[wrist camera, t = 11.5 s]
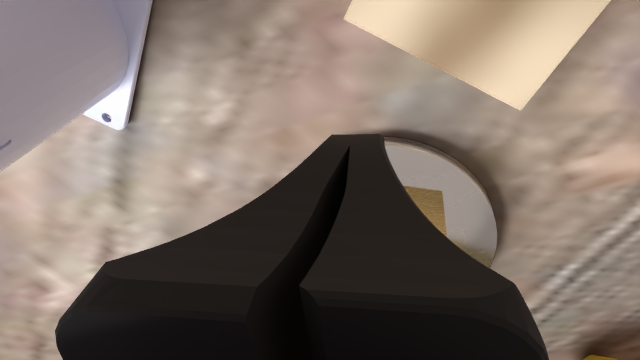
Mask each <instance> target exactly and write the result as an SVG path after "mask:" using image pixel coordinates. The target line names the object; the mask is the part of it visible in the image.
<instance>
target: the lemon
mask: <svg viewBox="0 0 640 360" xmlns="http://www.w3.org/2000/svg"><path fill="white" fill-rule="evenodd" d="M583 360H619V359H615V358H611V357H602V356H597V355H589V356H587V357H586V358H585V359H583Z"/></svg>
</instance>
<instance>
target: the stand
mask: <svg viewBox="0 0 640 360" xmlns="http://www.w3.org/2000/svg"><path fill="white" fill-rule="evenodd" d="M610 1H611V0H352V2H351V4H350V6H349V8H348V10H347V13H346V15H345V17H344V20H346V21H348V22H350V23H352V24H354V25H356V26H358V27H360V28H362V29H364V30H365V31H367V32H369V33H371V34H373V35H375V36H377V37H379V38H381V39H383V40H385V41H387V42H389V43H391V44H393V45H394V46H396V47H398V48H400V49H402V50H404V51H406V52H408V53H410V54H412V55H414V56H416V57H418V58H420V59H422V60H423V61H425V62H427V63H429V64H431V65H433V66H435V67H437V68H439V69H441V70H443V71H445V72H447V73H449V74H451V75H452V76H454V77H456V78H458V79H460V80H462V81H464V82H466V83H468V84H470V85H472V86H474V87H476V88H478V89H479V90H481V91H483V92H485V93H487V94H489V95H491V96H493V97H495V98H497V99H499V100H501V101H503V102H505V103H507V104H508V105H510V106H512V107H514V108H516V109H518V110H520V111H521V109H522V108H523V107H524V106H525V105H526V103H527V102H528V101H529V100H530V98H531V97H532V96H533V95H534V94H535V92H536V91H537V90H538V89H539V87H540V86H541V85H542V84H543V83H544V81H545V80H546V79H547V78H548V76H549V75H550V74H551V73H552V72H553V70H554V69H555V68H556V67H557V65H558V64H559V63H560V62H561V61H562V59H563V58H564V57H565V56H566V54H567V53H568V52H569V51H570V50H571V48H572V47H573V46H574V45H575V43H576V42H577V41H578V40H579V39H580V37H581V36H582V35H583V34H584V32H585V31H586V30H587V29H588V28H589V26H590V25H591V24H592V23H593V21H594V20H595V19H596V18H597V17H598V15H599V14H600V13H601V12H602V10H603V9H604V8H605V7H606V6H607V4H608V3H609V2H610Z"/></svg>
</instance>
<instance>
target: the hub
mask: <svg viewBox="0 0 640 360" xmlns="http://www.w3.org/2000/svg"><path fill="white" fill-rule="evenodd" d="M383 138H384V139H385V149H386V152H387V155H388V158H389V160H390V162H391V165H392V167H393V169H394V171H395V173H396V174H397V176H398V178H399V180H400V182H401V183H402V185H403V186H410V187H417V188H424V189H432V190H439V191H442V193H443V203H444V213H445V223H446V233H447V238H448V239H450V240H451V241H452V242H453V243H454V244H455V245H456V246H458V247H459V248H460V249H462V250H463V251H464V252H466V253H467V254H468V255H470V256H471V257H472V258H474V259H475V260H477V261H478V262H480V263H482V264H483V265H485V266H487V267H488V268H490V265H491V263H492V261H493V259H494V255H495V251H496V247H497V228H496V221H495V217H494V213H493V210H492V206H491V203H490V200H489V198H488V196H487V194H486V192H485V190H484V188H483V186H482V185H481V184H480V182H479V181H478V180H477V178H476V177H475V176H474V175H473V174H472V173H471V172H470V171H469V170H468V169H467V168H466V167H465V166H464V165H463V164H461V163H460V162H459V161H457V160H456V159H455V158H453V157H451V156H450V155H448V154H446V153H445V152H443V151H441V150H439V149H436V148H434V147H432V146H429V145H427V144H424V143H420V142H417V141H413V140H409V139H403V138H397V137H383Z"/></svg>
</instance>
